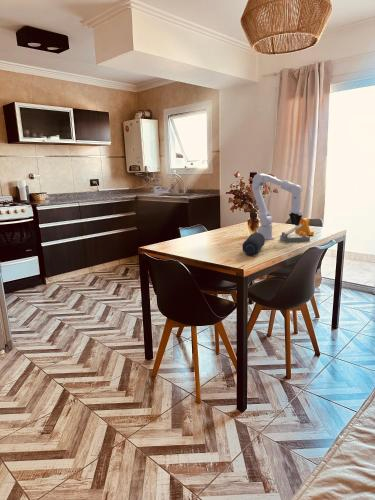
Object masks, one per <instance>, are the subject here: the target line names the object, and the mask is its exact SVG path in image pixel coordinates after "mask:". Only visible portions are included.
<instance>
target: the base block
mask: <svg viewBox="0 0 375 500" xmlns="http://www.w3.org/2000/svg"><path fill="white" fill-rule="evenodd" d="M285 233H286V232H284V231H283V232H281V235H280V236H279V240H280V241H282V242H283V241H284V243H285V242H286V243H285V244H289V242H292V243H304V242H305V241H307V242H310V240H311V238H310V237H311V236H310V235H309V236H307V235H306V233H303V231H300V232H299V234H295V233H294V234H289V235H288V234H285ZM283 234H285V237H284V236H283ZM305 243H306V242H305Z"/></svg>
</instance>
